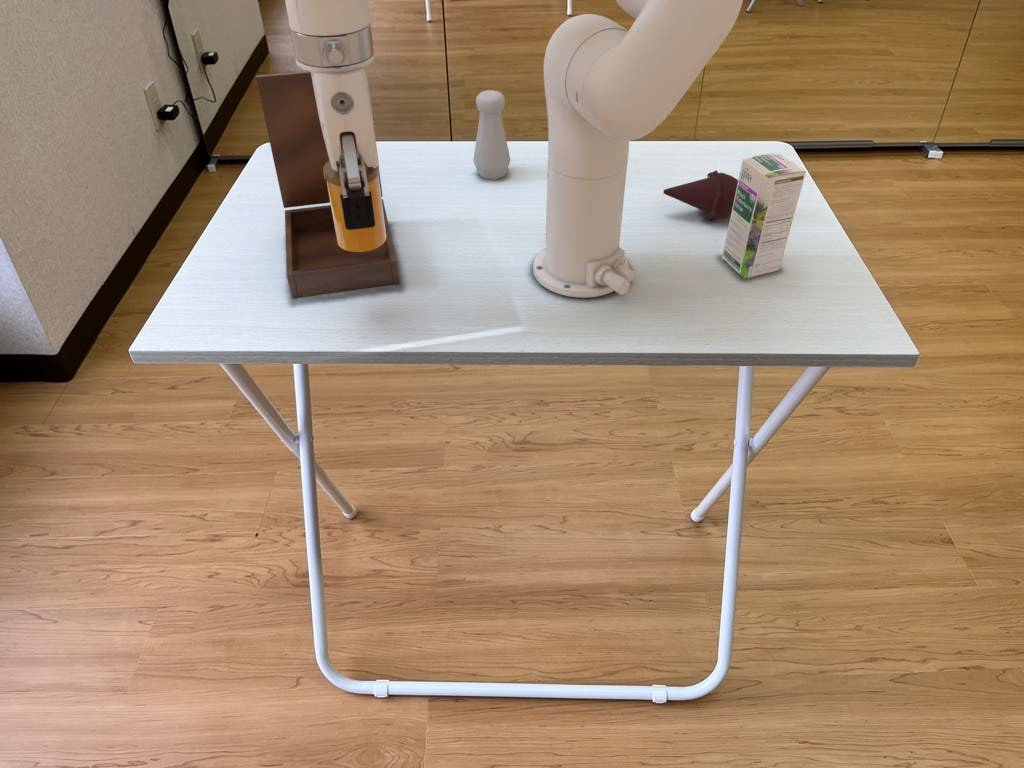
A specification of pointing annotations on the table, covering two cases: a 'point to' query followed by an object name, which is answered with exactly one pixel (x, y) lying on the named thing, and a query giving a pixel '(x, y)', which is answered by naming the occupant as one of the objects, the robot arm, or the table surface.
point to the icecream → (708, 194)
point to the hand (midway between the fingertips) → (357, 211)
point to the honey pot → (345, 238)
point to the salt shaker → (491, 136)
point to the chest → (332, 256)
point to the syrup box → (762, 214)
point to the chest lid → (295, 137)
